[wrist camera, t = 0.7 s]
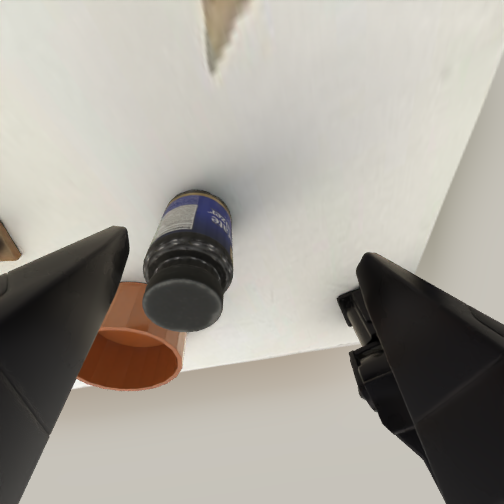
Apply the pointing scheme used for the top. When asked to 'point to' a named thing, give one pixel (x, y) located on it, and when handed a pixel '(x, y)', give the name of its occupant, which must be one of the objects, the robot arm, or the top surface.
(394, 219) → the top surface
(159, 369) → the bowl
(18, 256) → the figurine
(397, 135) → the top surface
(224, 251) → the pill bottle
